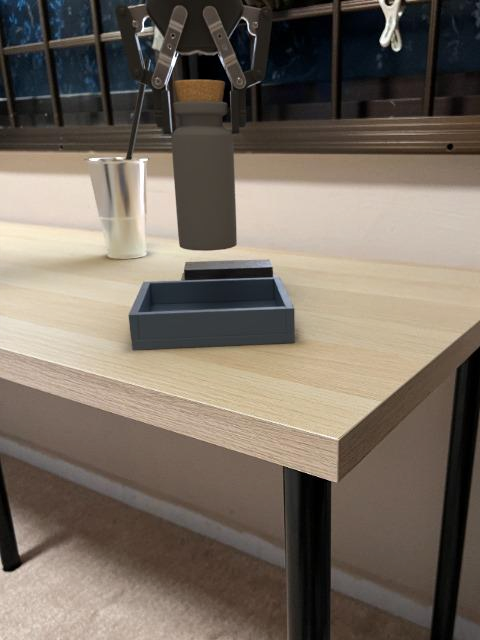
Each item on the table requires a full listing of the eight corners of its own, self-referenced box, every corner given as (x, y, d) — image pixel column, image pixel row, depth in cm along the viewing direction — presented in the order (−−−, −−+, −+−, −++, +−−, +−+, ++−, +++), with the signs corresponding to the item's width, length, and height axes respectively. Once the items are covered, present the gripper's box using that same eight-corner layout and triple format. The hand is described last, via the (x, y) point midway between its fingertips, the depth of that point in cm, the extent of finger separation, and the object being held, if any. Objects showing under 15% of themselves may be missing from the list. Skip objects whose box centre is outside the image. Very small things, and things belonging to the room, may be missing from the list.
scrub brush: (181, 298, 76) (179, 270, 74) (183, 287, 81) (181, 261, 80) (277, 295, 77) (277, 267, 75) (273, 284, 82) (272, 258, 81)
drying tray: (132, 350, 58) (128, 314, 57) (146, 311, 70) (143, 281, 69) (294, 342, 60) (294, 308, 58) (280, 306, 72) (280, 276, 71)
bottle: (218, 239, 66) (210, 84, 60) (248, 246, 61) (243, 80, 55) (169, 245, 62) (156, 82, 57) (196, 253, 58) (185, 77, 52)
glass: (166, 248, 109) (150, 58, 97) (158, 260, 98) (139, 49, 87) (105, 249, 108) (81, 58, 96) (90, 261, 98) (61, 49, 86)
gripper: (94, -101, 47) (119, 135, 54) (279, -95, 49) (281, 134, 55) (109, -71, 54) (129, 134, 60) (271, -67, 55) (273, 133, 62)
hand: (202, 133), depth 58 cm, fingers closed on bottle, 5 cm apart
